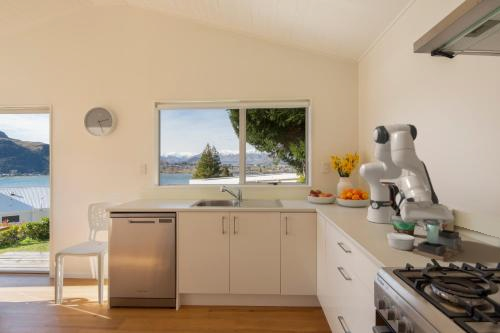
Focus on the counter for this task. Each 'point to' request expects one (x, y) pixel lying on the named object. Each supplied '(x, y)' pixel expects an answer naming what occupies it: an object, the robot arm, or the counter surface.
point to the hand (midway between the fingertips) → (433, 230)
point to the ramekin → (400, 241)
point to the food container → (403, 226)
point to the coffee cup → (448, 226)
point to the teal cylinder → (433, 231)
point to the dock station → (441, 246)
